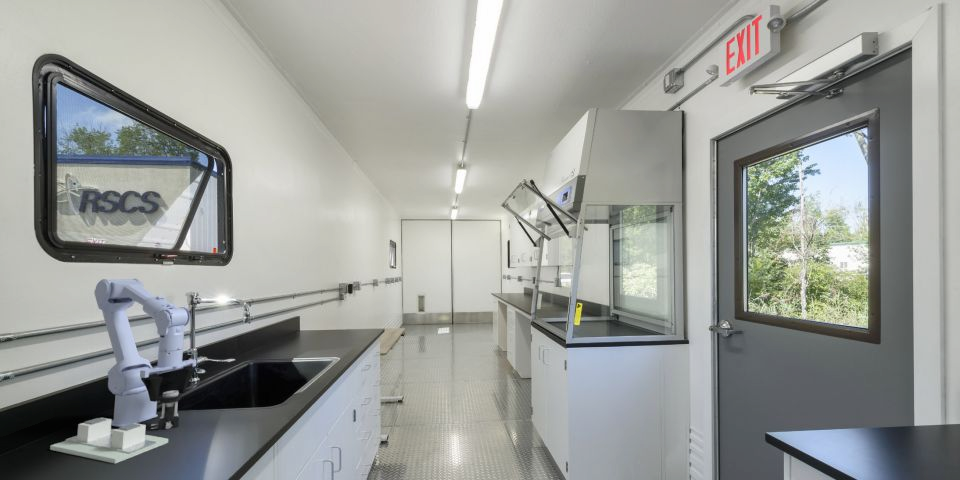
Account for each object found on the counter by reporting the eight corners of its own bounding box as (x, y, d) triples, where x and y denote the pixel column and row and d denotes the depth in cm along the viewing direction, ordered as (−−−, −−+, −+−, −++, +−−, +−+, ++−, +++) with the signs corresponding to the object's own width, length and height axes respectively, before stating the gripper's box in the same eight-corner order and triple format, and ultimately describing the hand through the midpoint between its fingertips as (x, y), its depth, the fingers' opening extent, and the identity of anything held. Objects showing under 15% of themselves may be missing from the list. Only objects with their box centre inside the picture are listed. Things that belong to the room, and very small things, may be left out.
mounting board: (106, 431, 112) (106, 427, 112) (168, 442, 105) (168, 438, 105) (50, 449, 100) (50, 445, 100) (115, 463, 93) (115, 459, 94)
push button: (149, 433, 111) (152, 396, 111) (151, 427, 115) (154, 392, 116) (179, 428, 115) (182, 392, 115) (180, 422, 119) (182, 388, 120)
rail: (93, 431, 109) (93, 430, 109) (156, 443, 102) (156, 441, 102) (65, 440, 103) (65, 439, 103) (129, 453, 96) (130, 451, 96)
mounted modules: (100, 432, 108) (101, 416, 108) (144, 440, 103) (145, 423, 103) (77, 440, 103) (78, 423, 103) (122, 449, 98) (123, 431, 98)
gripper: (154, 355, 108) (150, 406, 107) (204, 345, 122) (202, 391, 121) (136, 353, 110) (132, 403, 109) (187, 344, 124) (184, 388, 123)
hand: (167, 396), depth 115 cm, fingers open, 7 cm apart
